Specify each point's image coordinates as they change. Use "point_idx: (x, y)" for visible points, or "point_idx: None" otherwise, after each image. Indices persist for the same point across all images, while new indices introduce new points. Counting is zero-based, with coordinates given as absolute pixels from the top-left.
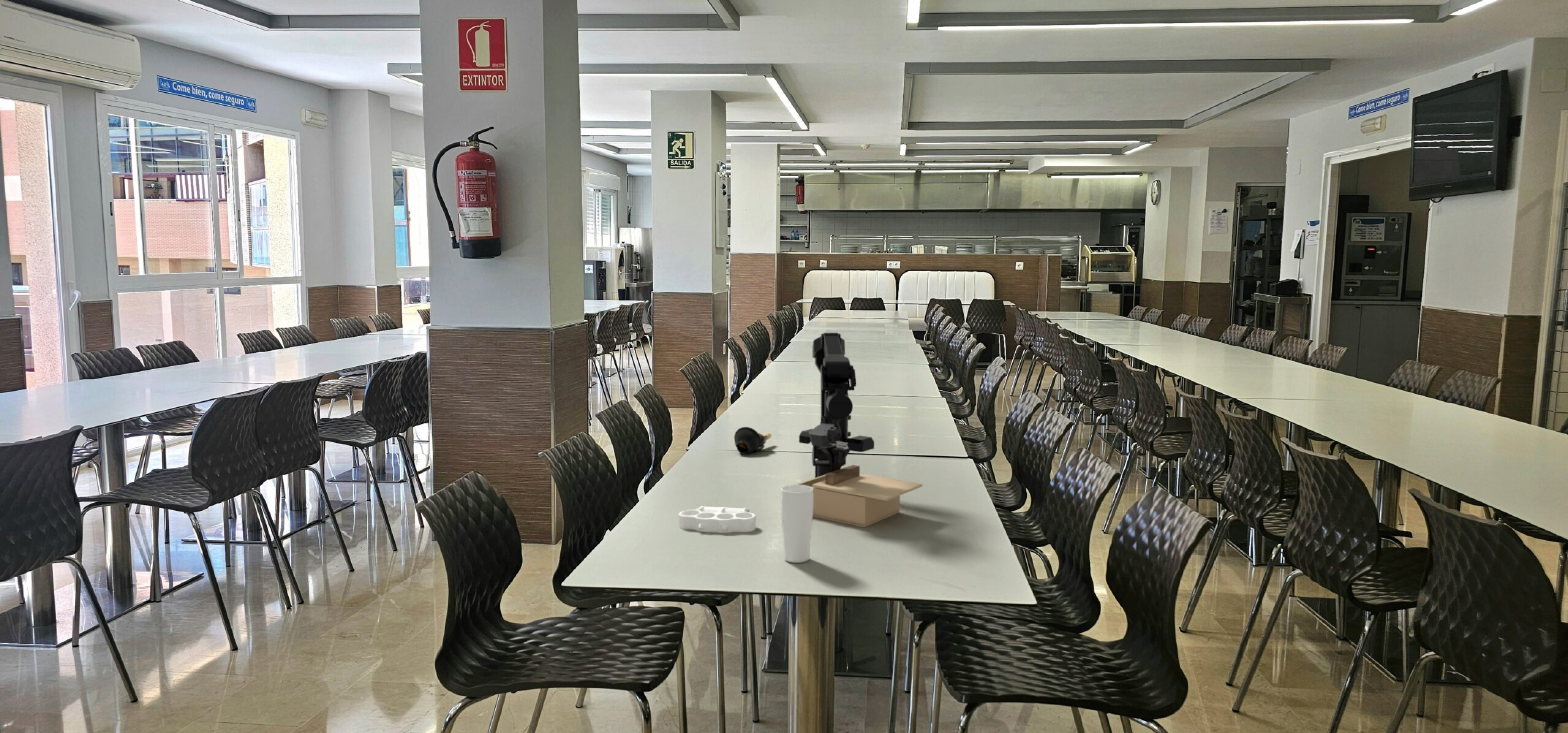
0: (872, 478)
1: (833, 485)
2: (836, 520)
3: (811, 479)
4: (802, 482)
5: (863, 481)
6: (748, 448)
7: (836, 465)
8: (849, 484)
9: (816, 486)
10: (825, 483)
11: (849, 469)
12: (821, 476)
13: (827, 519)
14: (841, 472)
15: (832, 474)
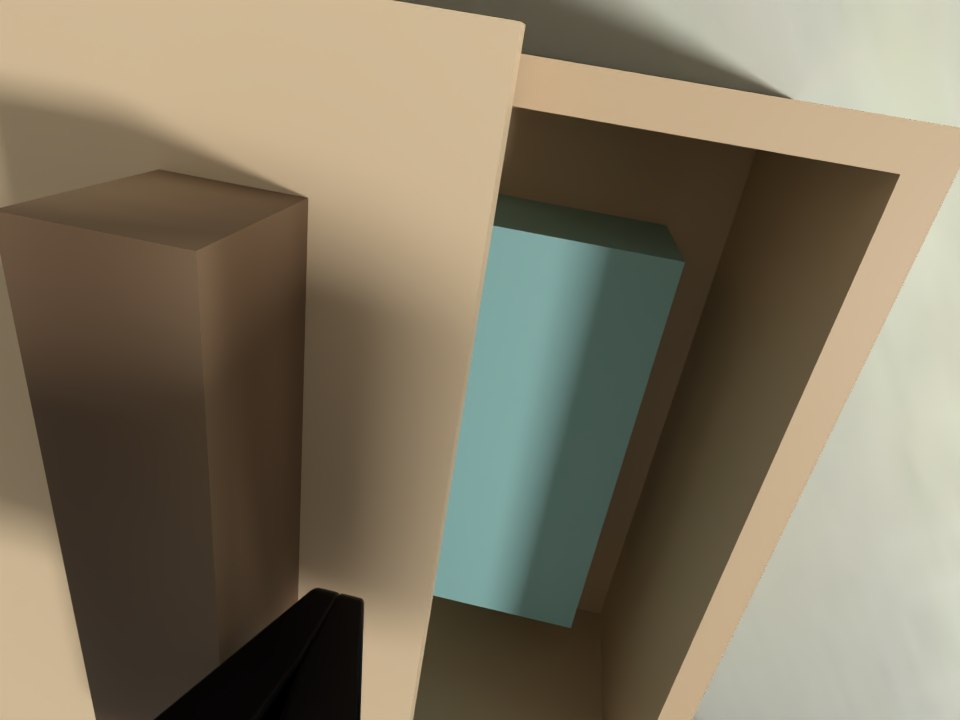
0: (33, 686)
1: (139, 167)
2: None
3: (757, 558)
4: (854, 346)
5: (1, 551)
6: None
7: (177, 716)
8: (7, 345)
9: (415, 8)
10: (332, 238)
11: (94, 712)
12: (674, 714)
13: None
14: (62, 522)
15: (32, 263)
